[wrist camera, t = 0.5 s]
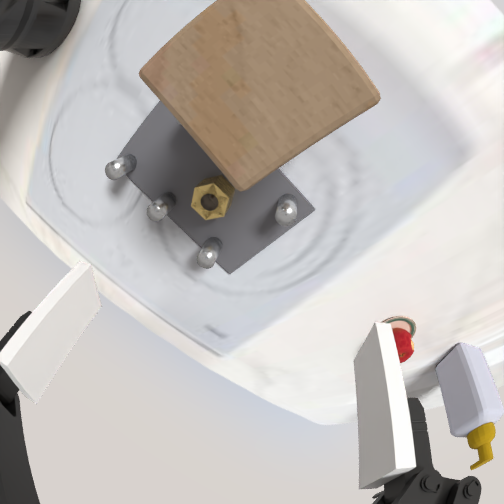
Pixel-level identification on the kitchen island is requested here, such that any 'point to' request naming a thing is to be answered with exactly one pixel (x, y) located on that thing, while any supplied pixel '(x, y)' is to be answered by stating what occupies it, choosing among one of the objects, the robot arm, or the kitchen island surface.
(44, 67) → the kitchen island surface
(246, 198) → the grey flat plate
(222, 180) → the nut
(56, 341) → the robot arm
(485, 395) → the soap bottle
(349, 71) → the wooden block
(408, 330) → the apple
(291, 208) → the set of silver pegs
